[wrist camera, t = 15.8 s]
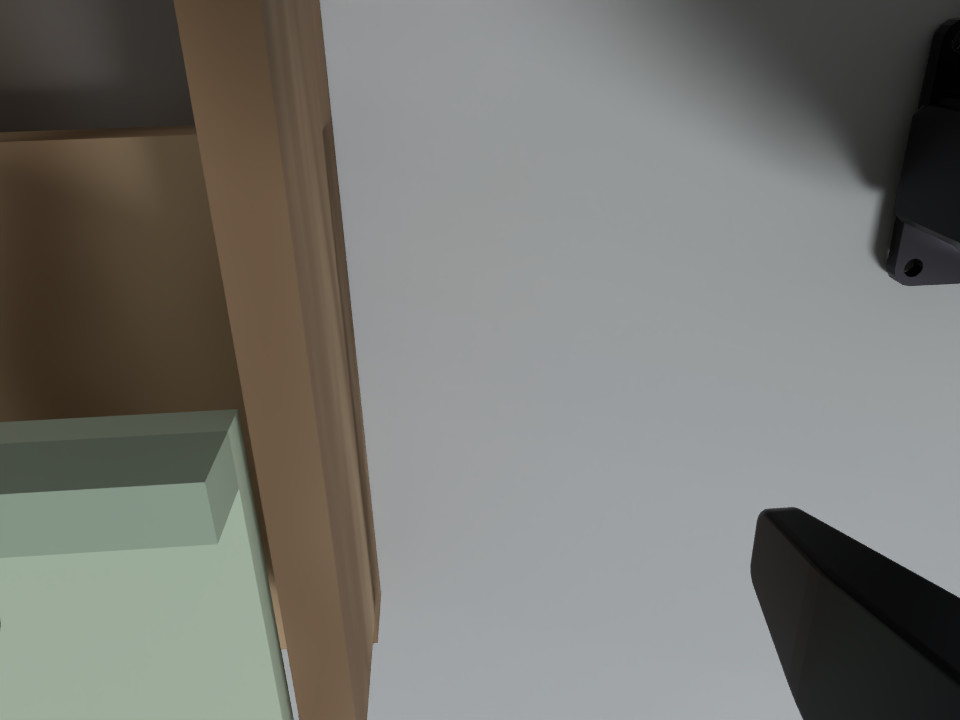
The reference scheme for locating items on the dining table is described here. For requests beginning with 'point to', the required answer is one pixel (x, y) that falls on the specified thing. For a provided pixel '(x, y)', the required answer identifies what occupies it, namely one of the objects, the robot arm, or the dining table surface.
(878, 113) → the dining table surface
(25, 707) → the sage cover
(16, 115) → the puzzle board
